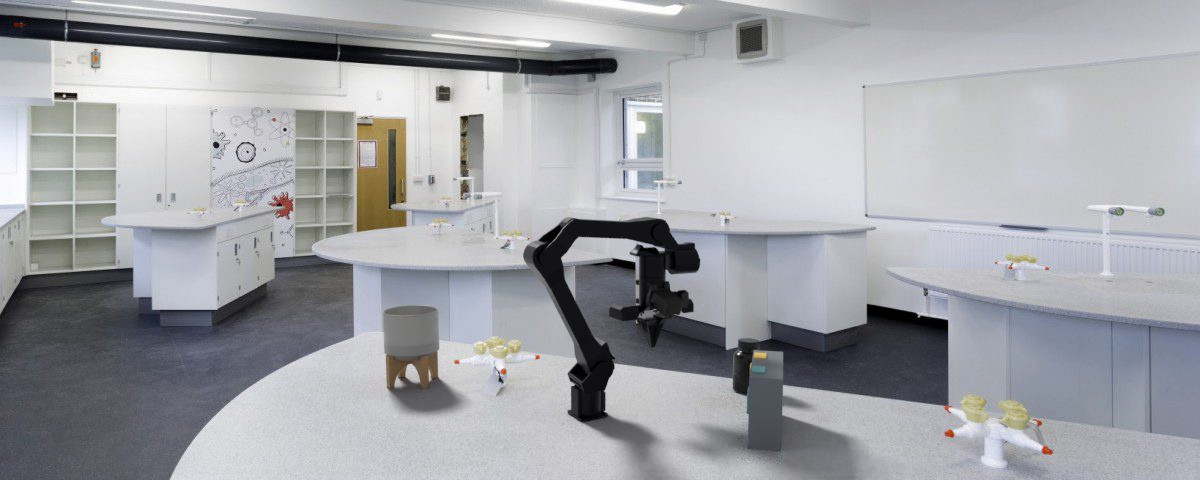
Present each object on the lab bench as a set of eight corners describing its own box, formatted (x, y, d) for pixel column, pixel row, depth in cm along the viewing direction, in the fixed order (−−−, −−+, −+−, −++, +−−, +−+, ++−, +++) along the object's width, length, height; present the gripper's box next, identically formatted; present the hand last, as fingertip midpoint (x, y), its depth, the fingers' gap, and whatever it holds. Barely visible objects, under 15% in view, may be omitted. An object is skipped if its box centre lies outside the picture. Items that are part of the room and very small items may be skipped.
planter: (423, 371, 181) (421, 302, 180) (450, 382, 172) (448, 310, 170) (375, 381, 173) (373, 310, 171) (401, 394, 163) (398, 318, 161)
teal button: (746, 413, 133) (747, 393, 133) (747, 407, 137) (748, 386, 137) (766, 415, 132) (766, 394, 132) (766, 408, 136) (767, 388, 136)
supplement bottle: (762, 396, 161) (764, 344, 160) (732, 394, 162) (733, 343, 161) (762, 387, 168) (763, 337, 166) (732, 385, 169) (733, 336, 168)
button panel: (747, 448, 131) (749, 375, 130) (752, 412, 150) (753, 348, 149) (781, 451, 129) (783, 378, 128) (781, 414, 149) (783, 350, 147)
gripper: (636, 285, 140) (636, 362, 142) (710, 277, 150) (709, 349, 151) (607, 277, 150) (607, 349, 151) (678, 270, 159) (678, 338, 161)
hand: (652, 347), depth 153 cm, fingers closed
